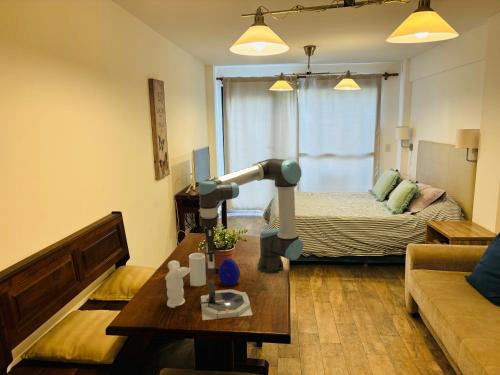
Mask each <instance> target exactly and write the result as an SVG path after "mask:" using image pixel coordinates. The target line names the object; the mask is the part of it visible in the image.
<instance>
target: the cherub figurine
mask: <svg viewBox="0 0 500 375" xmlns="http://www.w3.org/2000/svg"><path fill="white" fill-rule="evenodd" d="M167 267H168V270H169V271H168V272H167V274H166V275H165V277H164V280H165V281H166V282H165V283H166V289H167V291H166V296H167V298H168V300H167V302H166V305H167V307H168V308H171V309H172V308H176V307H178V306H181V305H183V304H185V302H186V299H185V298H184V295H185V294H184V293H185V290H184V281H183V278H185V277H186V276H187V275H188V274H190V271H191V268H190V267H188V266H187V267H186V266H182V267H181V266H180V262H179V261H178V260H175V259H174V260H170V261H169V262H168V263H167Z"/></svg>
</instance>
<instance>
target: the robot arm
mask: <svg viewBox="0 0 500 375" xmlns="http://www.w3.org/2000/svg"><path fill="white" fill-rule="evenodd" d="M302 174H303V173H302V169H301V165H300V164H299V163H298V162H296V161H295V160H290V159H285V158H284V159H283V158H282V159H281V158H267V159H265V160H261V161H257V162H255V163H253V164H252V165H251V166H248V167H246V168H242V169H239V170H236V171H233V172H231V173H227V174H224V175H220V176H218V177H214V178H211V179H209V178H206V179H205V178H204V179H201V180H200V181H199V182H198V186H197V188H198V196H199V209H198V212H199V213H200V219H199V220H200V225H201V227H204V234H205V242H206V243H205V245H206V246H205V248H206V249H205V250H206V252H205V255H206V257H207V269H215V250H214V239H215V230H214V229H215V228H214V227H216V226H217V225H219V224H218V202H222V201H229V200H233V199H236V198H238V197H239V195H240V186H243V185H245V184H248V183H251V182H255V181H257V182H259V181H264V180H270V181H274V187H275V188H276V189H277V194H278V195H277V198H278V221H279V225H278V226H279V228H268V229H267V228H266V229H263V230H262V231H260V235H259V236H260V237H259V247H260V248H259V249H260V251H259V252H260V253H259V254H260V255H259V258H258V262H257V270H258V271H259V272H260V273H264V274H278V273H280V272H283V270H284V268H285V266H284V262H283V258H285V259H286V260H291V261H294V260H297V259H298V258H300V256H301V255H302V253H303V250H304V242H303V241H302V240H301V239H300V238H299V236H300V234H299V232H298V231H296V203H295V202H296V200H295V188H296V187H297V186H298V183H299V182H300V180H301V178H302Z"/></svg>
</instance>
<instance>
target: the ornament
mask: <svg viewBox="0 0 500 375" xmlns="http://www.w3.org/2000/svg"><path fill="white" fill-rule="evenodd" d="M240 278H241V270H240V268H239V266H238V263H236V261H235V260H234V259H233V258H230V257H227V258H225V259H224V260H223V261H222V262H221V264H220V266H219V269H218V279H219V281H220V284H222V285H224V286H226V287H232V286H234V285H236V284H237V283H238V281H239V280H240Z"/></svg>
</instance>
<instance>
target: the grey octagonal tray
mask: <svg viewBox="0 0 500 375" xmlns="http://www.w3.org/2000/svg"><path fill="white" fill-rule="evenodd" d="M220 293H233V294H237V295H239V296H240V297H241V298H242V301H243V305H241V306H240V307H238V308H237V309H235V310H228V309H226V311H217V310H214V309H212V308H209V307H208V300H209V293H207V294H206V295H205V294H204V295H201V296H200V301H199V304H200V305H201V317H202V318H201V320H202V321H206V320H209V321H210V320H217V319H219V320H220V319H228V318H235V317H236V318H237V317H245V316H246V317H247V316H253V312H252V309H251V302H250V299H249V296H248V294H247V293H246V291H238V290H236V289H230V288H229V289H220V290H215V295H216V294H220Z"/></svg>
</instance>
